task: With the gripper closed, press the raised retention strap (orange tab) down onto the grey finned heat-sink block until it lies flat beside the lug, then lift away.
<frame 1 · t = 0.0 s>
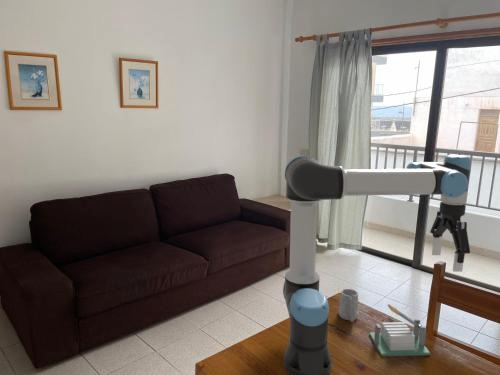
hand: (446, 262, 131), 28 cm above the table, fingers open, 13 cm apart
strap: (419, 326, 131), point 7 cm above the table, hinge at 35.0°
heatsink board: (398, 344, 132), on the table
white cup: (349, 318, 148), on the table
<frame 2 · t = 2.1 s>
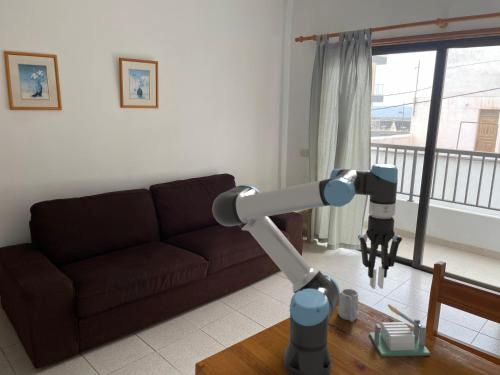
hand: (376, 286, 122), 24 cm above the table, fingers open, 2 cm apart
nothing on the table moved.
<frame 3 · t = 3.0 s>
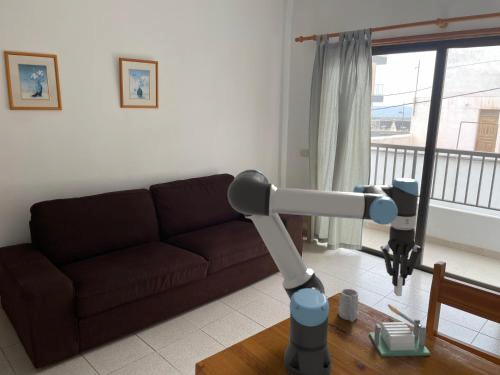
hand: (397, 294, 128), 19 cm above the table, fingers closed
nothing on the table moved.
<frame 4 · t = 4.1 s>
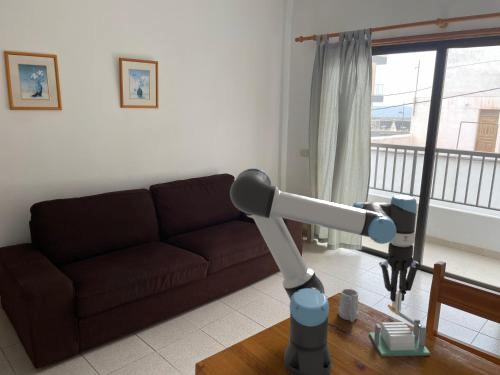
hand: (396, 309, 129), 13 cm above the table, fingers closed
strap: (419, 326, 131), point 7 cm above the table, hinge at 34.5°, touching gripper
everything else where it was.
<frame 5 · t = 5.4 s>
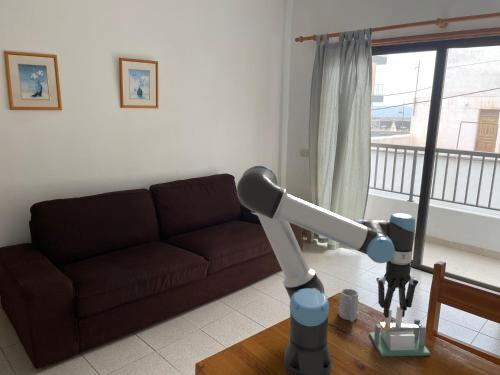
hand: (392, 325, 130), 8 cm above the table, fingers closed on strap, 3 cm apart
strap: (419, 326, 131), point 7 cm above the table, hinge at 3.4°, touching gripper
everything else where it was.
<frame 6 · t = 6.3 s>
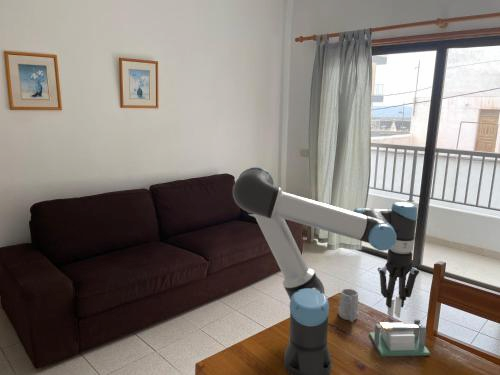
hand: (393, 315, 130), 11 cm above the table, fingers open, 2 cm apart
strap: (419, 326, 131), point 7 cm above the table, hinge at 3.0°
everything else where it was.
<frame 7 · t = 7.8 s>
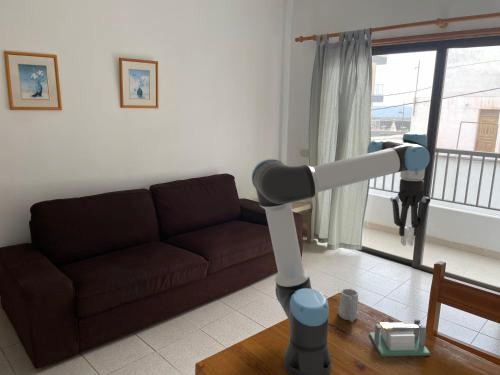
hand: (406, 244, 135), 33 cm above the table, fingers open, 2 cm apart
nothing on the table moved.
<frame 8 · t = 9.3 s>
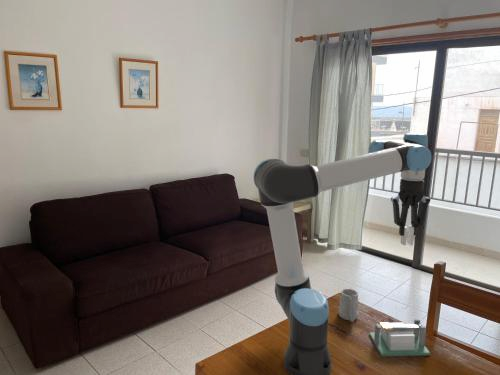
hand: (406, 243, 136), 32 cm above the table, fingers open, 2 cm apart
nothing on the table moved.
at the end: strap at +3° (first picture: +35°); white cup moved 0.2 cm from its start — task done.
